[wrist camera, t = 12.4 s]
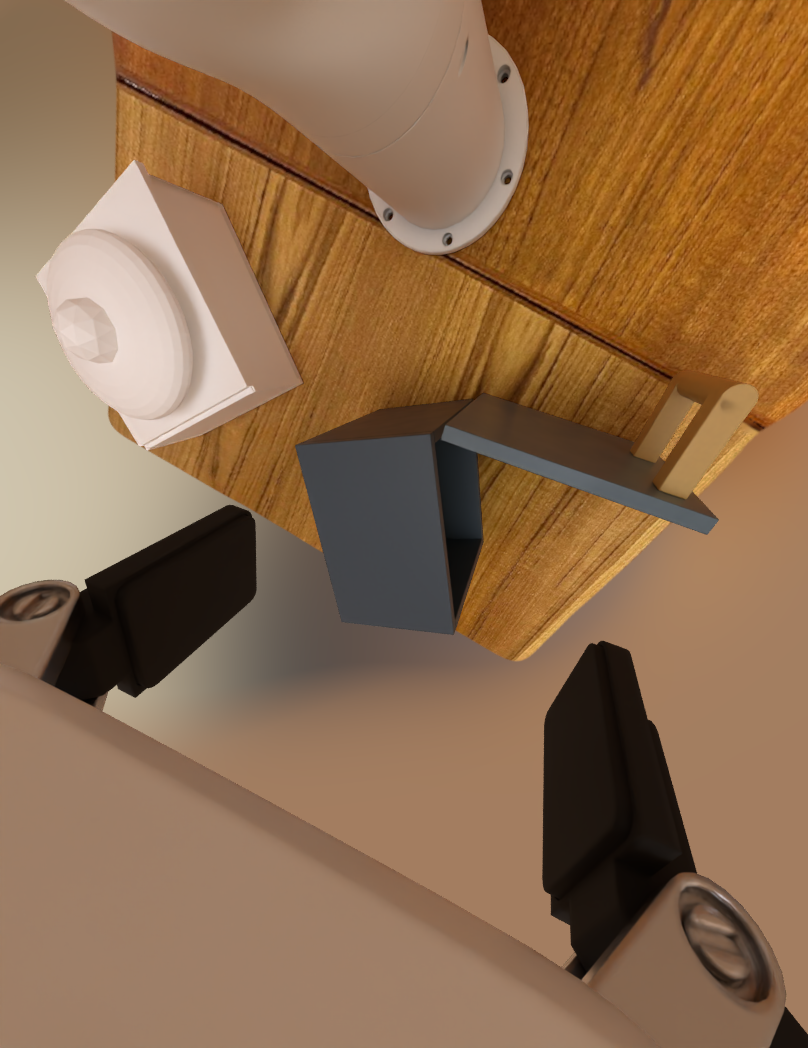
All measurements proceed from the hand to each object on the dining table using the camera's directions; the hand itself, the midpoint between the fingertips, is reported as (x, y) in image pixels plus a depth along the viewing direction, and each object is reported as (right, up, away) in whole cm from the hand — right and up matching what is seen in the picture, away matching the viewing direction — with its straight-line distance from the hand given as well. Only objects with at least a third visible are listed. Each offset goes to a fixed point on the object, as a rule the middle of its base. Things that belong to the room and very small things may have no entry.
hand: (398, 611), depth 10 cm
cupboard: (+3, +7, +31) cm, 32 cm away
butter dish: (-22, +24, +32) cm, 46 cm away
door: (+15, +14, +23) cm, 31 cm away
